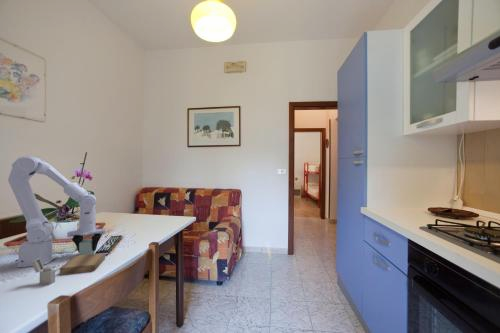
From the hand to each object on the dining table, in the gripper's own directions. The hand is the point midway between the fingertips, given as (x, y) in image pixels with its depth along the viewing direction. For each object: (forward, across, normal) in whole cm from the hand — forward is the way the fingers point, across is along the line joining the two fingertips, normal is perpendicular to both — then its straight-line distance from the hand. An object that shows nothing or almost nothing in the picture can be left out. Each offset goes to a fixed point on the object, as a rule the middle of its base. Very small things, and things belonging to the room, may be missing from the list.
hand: (87, 250), depth 95 cm
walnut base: (+2, +4, -13) cm, 14 cm away
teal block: (+2, 0, 0) cm, 2 cm away
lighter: (+2, -4, -23) cm, 23 cm away
